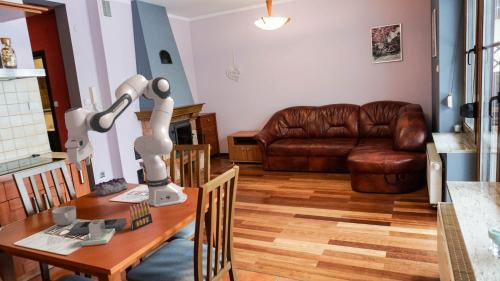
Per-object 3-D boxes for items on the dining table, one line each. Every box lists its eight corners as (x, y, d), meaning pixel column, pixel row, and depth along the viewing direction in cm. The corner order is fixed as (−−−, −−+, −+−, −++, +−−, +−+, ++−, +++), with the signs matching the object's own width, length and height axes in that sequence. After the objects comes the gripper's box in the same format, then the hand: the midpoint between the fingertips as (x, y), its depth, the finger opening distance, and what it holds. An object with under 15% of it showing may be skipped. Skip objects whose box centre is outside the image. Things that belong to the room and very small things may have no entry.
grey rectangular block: (106, 235, 157) (103, 217, 155) (102, 240, 152) (99, 222, 150) (95, 236, 157) (92, 218, 155) (91, 241, 152) (88, 223, 150)
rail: (126, 223, 169) (126, 217, 169) (121, 230, 161) (120, 224, 161) (78, 227, 168) (77, 222, 168) (71, 235, 161) (70, 229, 160)
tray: (115, 232, 160) (114, 228, 160) (106, 243, 149) (106, 239, 149) (92, 234, 160) (91, 230, 159) (81, 246, 149) (81, 242, 148)
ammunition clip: (133, 230, 160) (129, 207, 158) (131, 230, 161) (127, 206, 159) (152, 222, 168) (149, 199, 166) (150, 221, 169) (147, 199, 167)
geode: (123, 186, 232) (122, 172, 229) (130, 191, 224) (130, 177, 222) (92, 193, 218) (91, 179, 215) (99, 199, 210) (98, 185, 208)
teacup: (56, 221, 178) (53, 207, 177) (78, 217, 182) (76, 203, 181) (52, 232, 166) (49, 217, 164) (77, 226, 170) (74, 212, 168)
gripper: (81, 137, 176) (86, 162, 179) (62, 145, 156) (68, 174, 159) (93, 136, 176) (98, 161, 179) (76, 144, 156) (82, 172, 159)
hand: (84, 167), depth 169 cm, fingers open, 8 cm apart
